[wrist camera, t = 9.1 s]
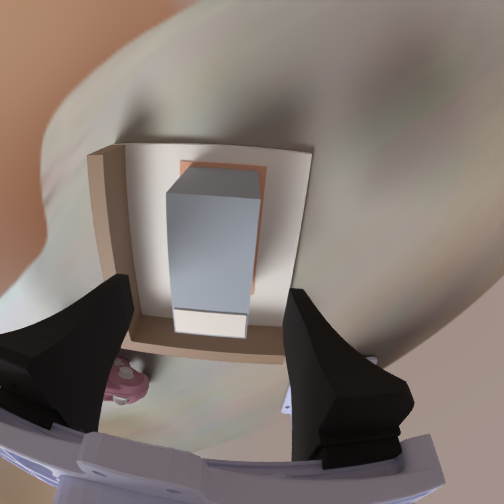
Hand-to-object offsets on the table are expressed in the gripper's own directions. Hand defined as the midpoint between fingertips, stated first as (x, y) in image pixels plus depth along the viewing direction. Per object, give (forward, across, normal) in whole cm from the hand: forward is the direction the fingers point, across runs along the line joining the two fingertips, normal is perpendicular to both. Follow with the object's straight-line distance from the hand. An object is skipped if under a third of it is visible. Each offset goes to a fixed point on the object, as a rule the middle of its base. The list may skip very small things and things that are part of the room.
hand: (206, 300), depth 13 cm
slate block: (+6, 0, 0) cm, 7 cm away
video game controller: (+8, +11, +14) cm, 20 cm away
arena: (+7, +1, +1) cm, 7 cm away
